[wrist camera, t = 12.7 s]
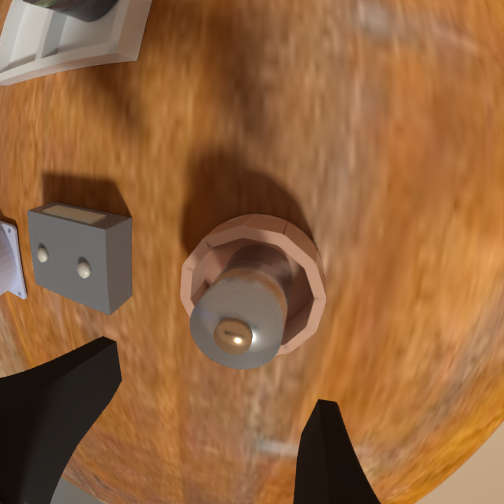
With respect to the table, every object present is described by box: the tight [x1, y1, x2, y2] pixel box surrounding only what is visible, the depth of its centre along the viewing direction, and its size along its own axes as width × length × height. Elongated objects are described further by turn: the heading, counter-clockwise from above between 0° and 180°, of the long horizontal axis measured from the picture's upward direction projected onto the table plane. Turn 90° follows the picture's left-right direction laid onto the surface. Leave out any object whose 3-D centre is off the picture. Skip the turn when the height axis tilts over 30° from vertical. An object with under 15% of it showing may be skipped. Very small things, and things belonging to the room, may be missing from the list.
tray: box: [0, 0, 152, 85], centre depth 13 cm, size 16×11×2 cm
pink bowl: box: [180, 213, 327, 355], centre depth 17 cm, size 8×8×3 cm
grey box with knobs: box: [28, 202, 132, 315], centre depth 19 cm, size 8×6×3 cm
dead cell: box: [190, 244, 293, 369], centre depth 15 cm, size 4×4×6 cm
